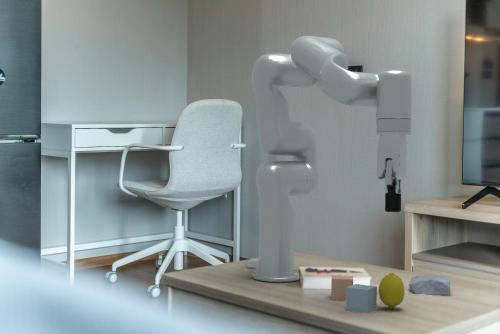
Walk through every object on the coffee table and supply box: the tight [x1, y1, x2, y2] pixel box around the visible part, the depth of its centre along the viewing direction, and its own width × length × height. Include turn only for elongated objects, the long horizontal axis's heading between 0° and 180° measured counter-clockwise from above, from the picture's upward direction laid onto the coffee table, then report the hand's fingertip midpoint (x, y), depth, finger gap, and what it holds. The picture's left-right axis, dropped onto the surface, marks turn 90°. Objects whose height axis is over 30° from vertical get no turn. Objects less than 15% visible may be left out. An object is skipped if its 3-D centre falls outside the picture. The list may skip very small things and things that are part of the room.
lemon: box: [378, 272, 405, 310], centre depth 162 cm, size 6×6×8 cm
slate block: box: [345, 283, 378, 314], centre depth 161 cm, size 5×5×5 cm
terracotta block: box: [330, 274, 354, 302], centre depth 173 cm, size 5×5×5 cm
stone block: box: [408, 273, 451, 296], centre depth 183 cm, size 12×5×10 cm
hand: (393, 211), depth 161 cm, fingers closed
